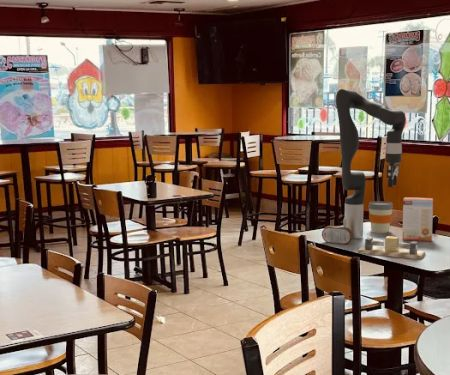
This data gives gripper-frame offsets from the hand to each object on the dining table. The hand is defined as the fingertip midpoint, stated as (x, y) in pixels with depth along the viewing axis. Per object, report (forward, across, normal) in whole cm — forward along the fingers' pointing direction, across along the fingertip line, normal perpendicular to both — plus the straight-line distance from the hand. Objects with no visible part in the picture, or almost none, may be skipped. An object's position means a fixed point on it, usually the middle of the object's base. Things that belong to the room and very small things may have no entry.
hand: (392, 185), depth 334 cm
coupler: (+26, -24, -6) cm, 36 cm away
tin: (+28, -13, +23) cm, 39 cm away
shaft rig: (+28, -24, -6) cm, 37 cm away
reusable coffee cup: (+28, +27, +12) cm, 41 cm away
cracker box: (+28, +13, -10) cm, 33 cm away
